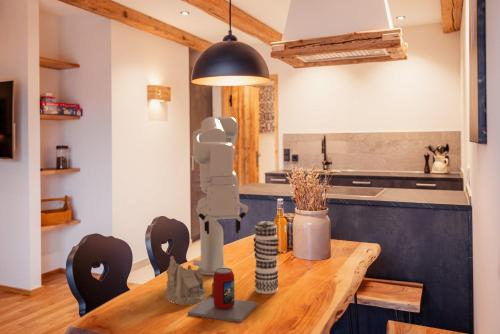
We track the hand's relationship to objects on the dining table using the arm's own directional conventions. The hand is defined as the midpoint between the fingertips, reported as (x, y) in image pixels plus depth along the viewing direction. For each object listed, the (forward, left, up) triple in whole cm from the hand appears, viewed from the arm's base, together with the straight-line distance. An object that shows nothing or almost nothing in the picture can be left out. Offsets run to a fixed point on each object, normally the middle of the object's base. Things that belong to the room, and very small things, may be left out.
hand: (222, 232), depth 147 cm
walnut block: (-5, +9, -25) cm, 27 cm away
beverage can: (+2, -3, -24) cm, 24 cm away
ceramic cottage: (-16, +4, -25) cm, 30 cm away
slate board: (+2, -4, -24) cm, 25 cm away
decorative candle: (+9, +19, -25) cm, 33 cm away
